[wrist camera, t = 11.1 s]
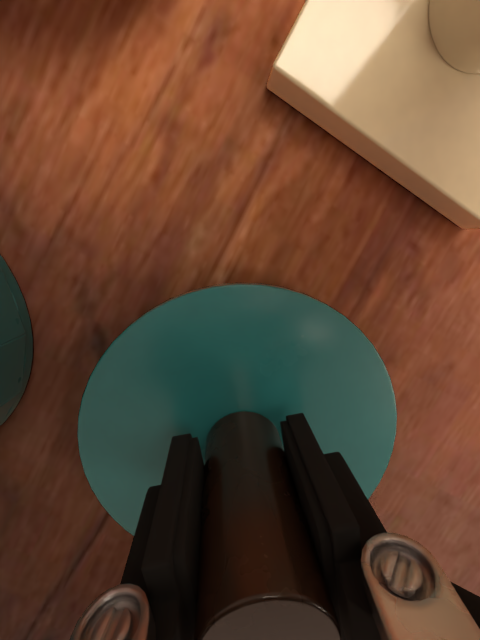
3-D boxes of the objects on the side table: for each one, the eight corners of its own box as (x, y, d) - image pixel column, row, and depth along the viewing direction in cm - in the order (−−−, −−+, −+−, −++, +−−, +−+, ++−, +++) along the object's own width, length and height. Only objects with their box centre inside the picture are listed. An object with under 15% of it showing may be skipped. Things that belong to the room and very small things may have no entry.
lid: (48, 310, 10) (-257, 431, 4) (375, 255, 10) (637, 275, 4) (132, 561, 13) (46, 882, 6) (386, 512, 13) (547, 770, 7)
